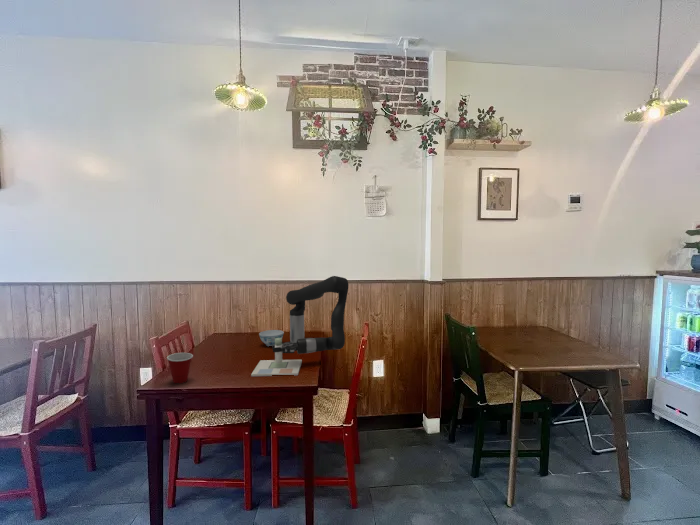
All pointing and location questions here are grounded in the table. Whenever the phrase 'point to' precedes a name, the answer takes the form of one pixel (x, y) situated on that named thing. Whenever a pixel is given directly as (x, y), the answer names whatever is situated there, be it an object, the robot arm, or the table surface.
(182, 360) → the plastic cup
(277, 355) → the marker
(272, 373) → the picture board
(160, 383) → the table surface
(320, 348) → the robot arm
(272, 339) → the chinaware
